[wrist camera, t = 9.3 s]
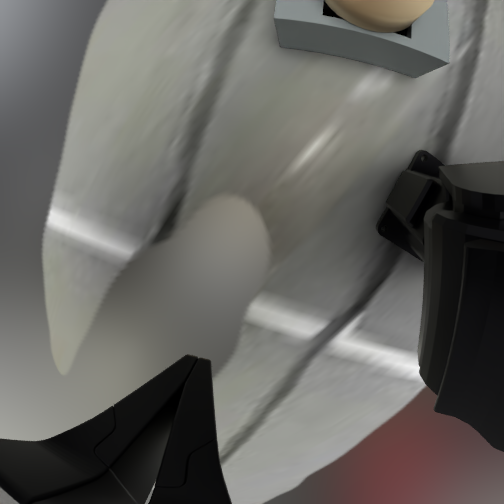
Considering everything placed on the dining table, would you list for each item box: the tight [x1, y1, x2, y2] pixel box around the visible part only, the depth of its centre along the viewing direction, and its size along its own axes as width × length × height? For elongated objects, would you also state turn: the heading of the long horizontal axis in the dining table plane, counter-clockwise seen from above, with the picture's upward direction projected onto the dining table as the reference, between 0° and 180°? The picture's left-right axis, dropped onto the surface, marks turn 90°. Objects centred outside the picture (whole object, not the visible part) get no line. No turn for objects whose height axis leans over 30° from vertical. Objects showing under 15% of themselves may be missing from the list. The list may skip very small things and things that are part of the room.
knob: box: [324, 0, 434, 33], centre depth 10 cm, size 5×5×7 cm
